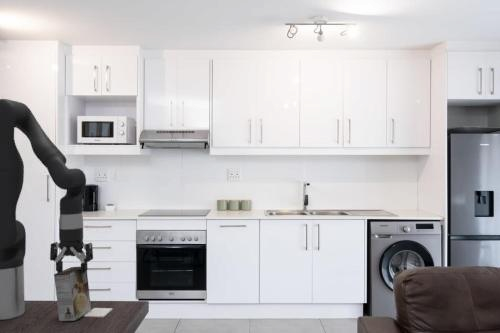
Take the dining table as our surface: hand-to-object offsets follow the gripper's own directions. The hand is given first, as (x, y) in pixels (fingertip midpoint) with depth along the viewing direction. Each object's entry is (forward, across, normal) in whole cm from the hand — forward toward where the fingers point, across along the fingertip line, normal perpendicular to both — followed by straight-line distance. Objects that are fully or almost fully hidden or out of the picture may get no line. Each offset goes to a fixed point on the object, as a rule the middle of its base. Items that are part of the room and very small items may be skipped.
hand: (71, 272), depth 132 cm
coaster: (+15, +8, +3) cm, 17 cm away
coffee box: (+15, +1, 0) cm, 15 cm away
